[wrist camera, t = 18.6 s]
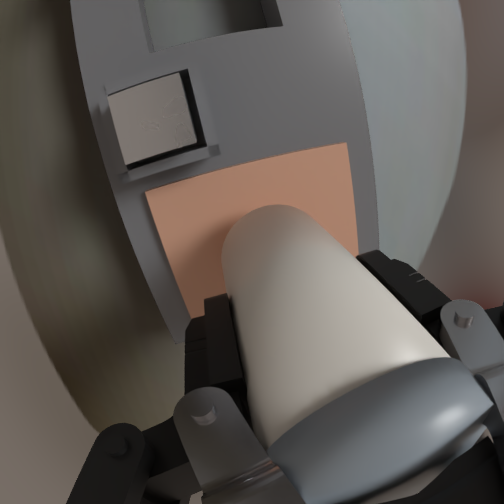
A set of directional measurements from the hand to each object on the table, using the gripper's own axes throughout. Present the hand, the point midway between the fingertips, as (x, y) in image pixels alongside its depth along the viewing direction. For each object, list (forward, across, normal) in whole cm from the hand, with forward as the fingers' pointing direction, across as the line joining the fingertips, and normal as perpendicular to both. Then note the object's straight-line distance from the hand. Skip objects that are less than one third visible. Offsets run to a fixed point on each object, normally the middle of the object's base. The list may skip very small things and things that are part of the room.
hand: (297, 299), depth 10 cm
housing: (+8, 0, -8) cm, 11 cm away
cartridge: (+3, 0, 0) cm, 3 cm away
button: (+5, +3, -6) cm, 9 cm away
